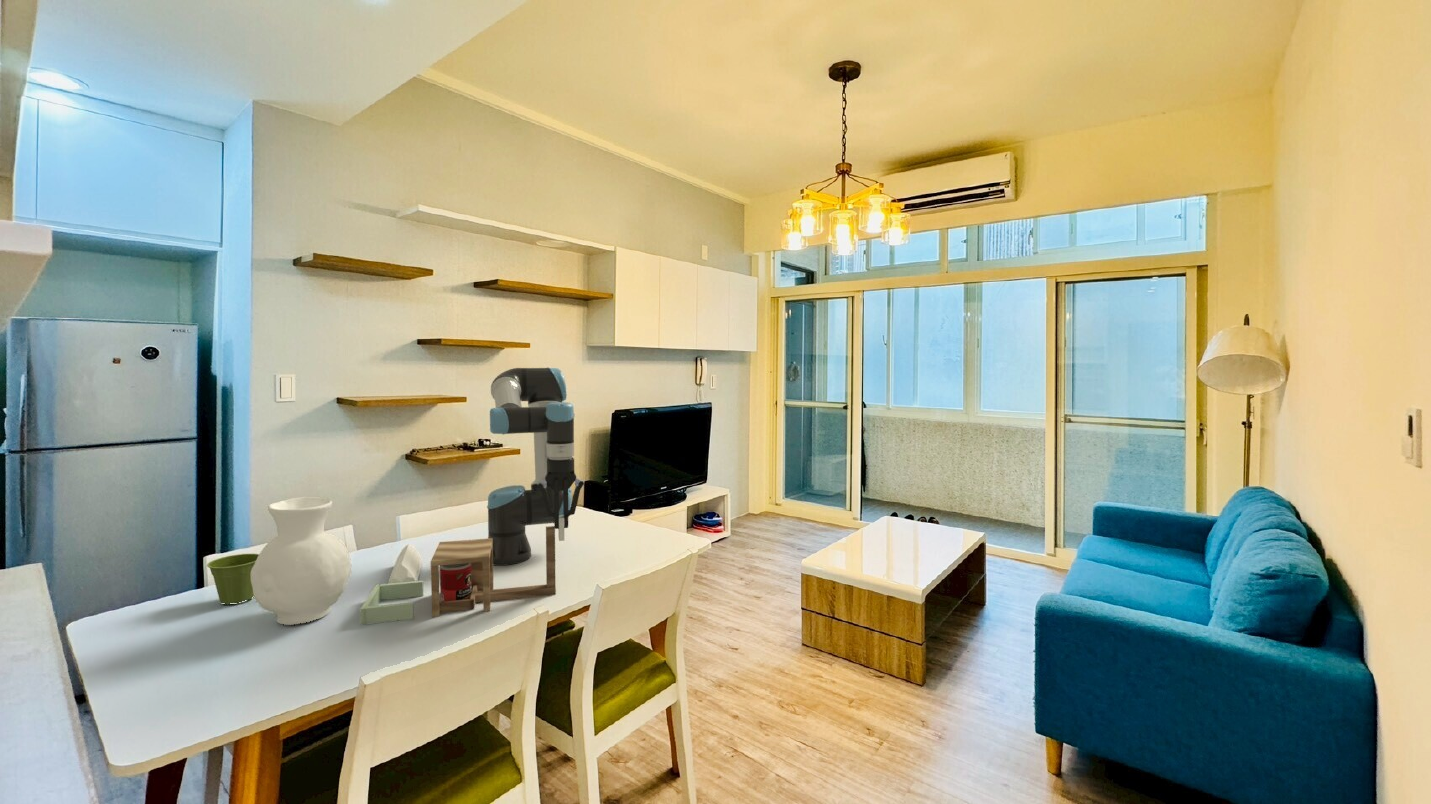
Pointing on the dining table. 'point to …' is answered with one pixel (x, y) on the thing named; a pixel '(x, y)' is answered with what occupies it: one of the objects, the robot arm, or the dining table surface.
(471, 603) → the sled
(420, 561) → the white faceted bar
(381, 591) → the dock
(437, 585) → the stool
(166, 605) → the dining table surface
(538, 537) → the dining table surface
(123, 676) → the dining table surface
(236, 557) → the plant pot
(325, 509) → the vase
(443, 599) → the canned food
